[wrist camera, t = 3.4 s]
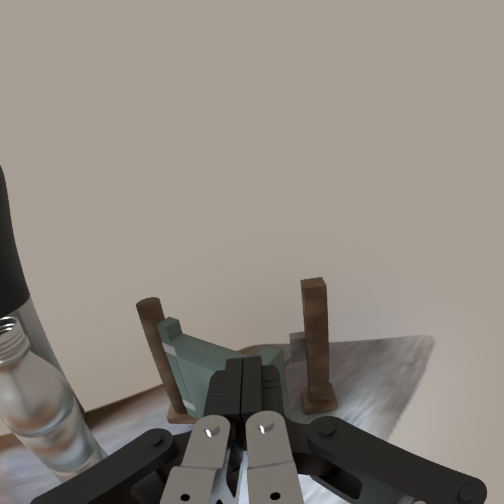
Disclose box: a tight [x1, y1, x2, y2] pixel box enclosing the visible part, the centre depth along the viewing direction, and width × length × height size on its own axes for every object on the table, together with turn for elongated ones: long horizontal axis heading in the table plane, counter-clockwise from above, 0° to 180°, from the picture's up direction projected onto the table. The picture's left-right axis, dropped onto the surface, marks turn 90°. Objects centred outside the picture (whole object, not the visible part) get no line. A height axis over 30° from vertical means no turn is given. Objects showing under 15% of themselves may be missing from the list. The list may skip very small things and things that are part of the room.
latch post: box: [289, 277, 337, 414], centre depth 29 cm, size 4×4×15 cm
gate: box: [157, 317, 290, 420], centre depth 25 cm, size 12×2×12 cm, turn 55°
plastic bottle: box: [0, 316, 136, 487], centre depth 15 cm, size 6×7×20 cm
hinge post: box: [136, 297, 199, 424], centre depth 29 cm, size 4×4×15 cm
